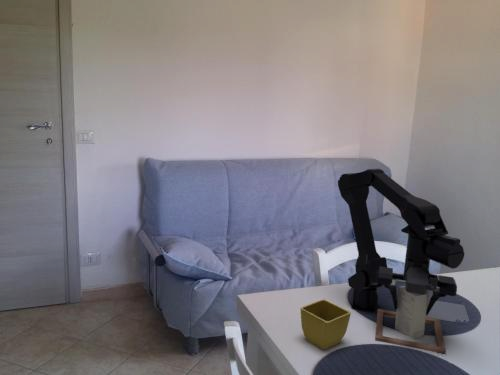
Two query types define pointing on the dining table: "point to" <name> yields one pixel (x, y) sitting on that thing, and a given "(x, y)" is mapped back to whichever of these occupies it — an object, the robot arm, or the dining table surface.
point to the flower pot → (324, 323)
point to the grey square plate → (448, 312)
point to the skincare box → (411, 313)
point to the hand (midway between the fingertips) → (410, 311)
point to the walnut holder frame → (439, 339)
